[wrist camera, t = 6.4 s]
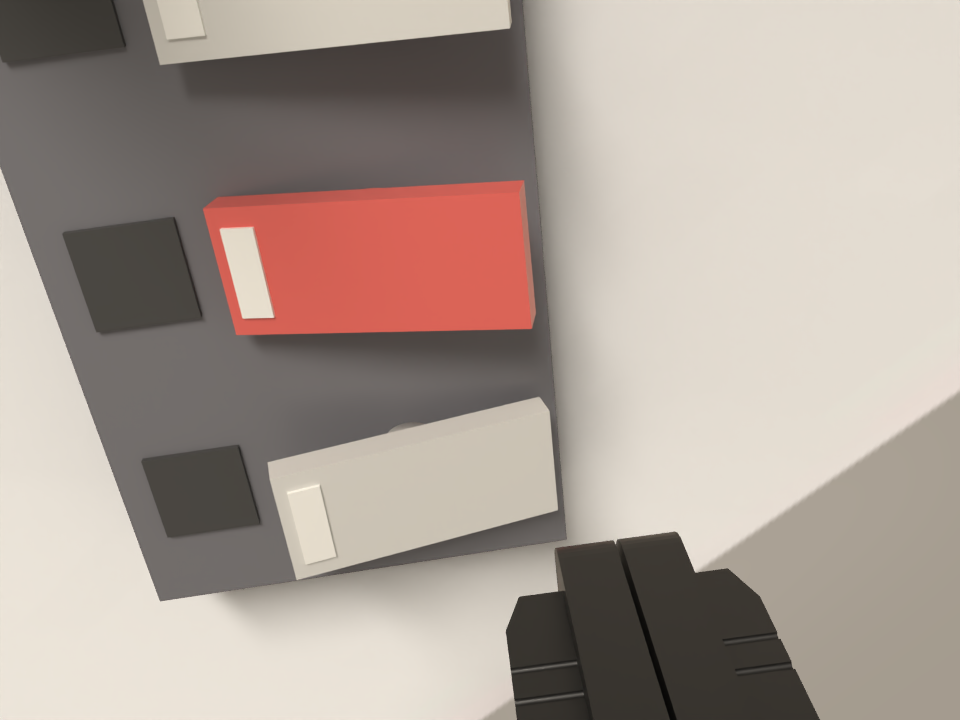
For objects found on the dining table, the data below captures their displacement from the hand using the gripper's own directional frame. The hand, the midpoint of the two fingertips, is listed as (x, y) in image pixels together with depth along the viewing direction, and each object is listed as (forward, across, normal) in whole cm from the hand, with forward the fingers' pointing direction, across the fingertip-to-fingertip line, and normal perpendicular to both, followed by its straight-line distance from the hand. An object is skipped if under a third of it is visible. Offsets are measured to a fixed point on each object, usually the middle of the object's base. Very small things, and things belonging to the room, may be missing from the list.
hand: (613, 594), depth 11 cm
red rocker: (+16, +4, +1) cm, 17 cm away
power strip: (+22, +6, +1) cm, 22 cm away
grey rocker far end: (+16, +4, +9) cm, 19 cm away
